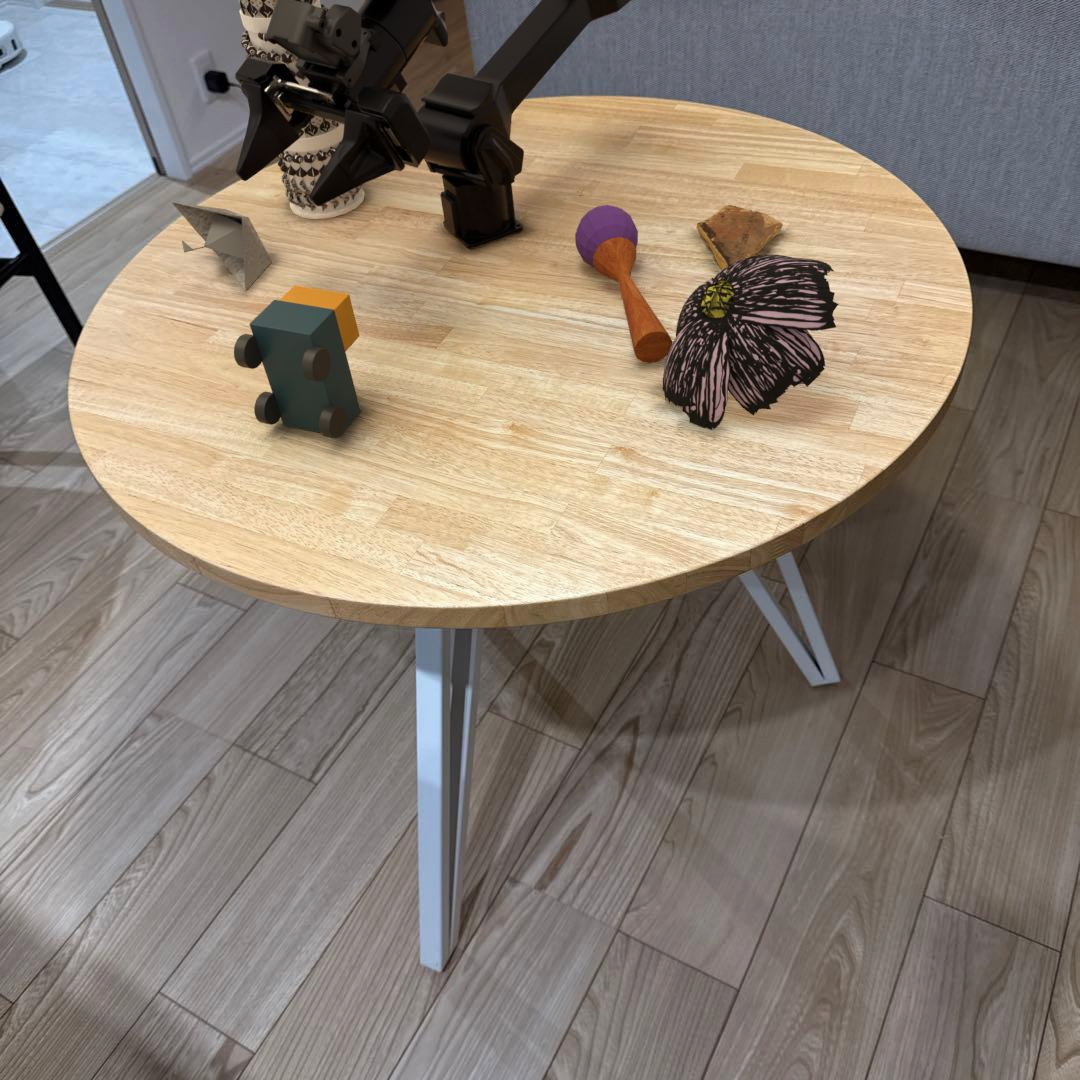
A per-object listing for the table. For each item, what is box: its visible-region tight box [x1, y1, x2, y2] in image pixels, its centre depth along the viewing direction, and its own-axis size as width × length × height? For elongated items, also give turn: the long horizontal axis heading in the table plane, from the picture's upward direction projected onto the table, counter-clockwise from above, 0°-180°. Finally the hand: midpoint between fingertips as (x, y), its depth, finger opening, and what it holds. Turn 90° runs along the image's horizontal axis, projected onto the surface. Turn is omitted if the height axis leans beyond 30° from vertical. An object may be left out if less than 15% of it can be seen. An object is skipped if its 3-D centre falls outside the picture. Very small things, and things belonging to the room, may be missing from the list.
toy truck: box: [233, 284, 362, 439], centre depth 81 cm, size 8×7×10 cm
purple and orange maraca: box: [574, 204, 673, 364], centre depth 91 cm, size 6×6×20 cm
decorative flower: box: [662, 254, 839, 431], centre depth 80 cm, size 14×12×15 cm
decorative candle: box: [238, 0, 366, 220], centre depth 104 cm, size 9×9×25 cm
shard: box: [695, 204, 784, 271], centre depth 97 cm, size 11×8×2 cm
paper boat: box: [171, 201, 272, 292], centre depth 102 cm, size 12×6×9 cm
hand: (275, 189), depth 82 cm, fingers open, 9 cm apart
